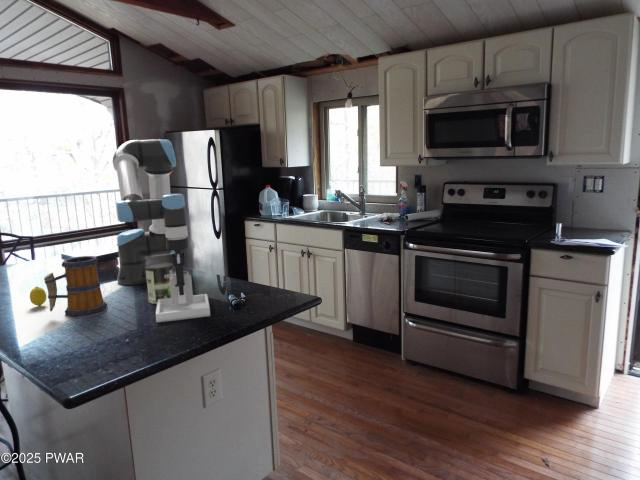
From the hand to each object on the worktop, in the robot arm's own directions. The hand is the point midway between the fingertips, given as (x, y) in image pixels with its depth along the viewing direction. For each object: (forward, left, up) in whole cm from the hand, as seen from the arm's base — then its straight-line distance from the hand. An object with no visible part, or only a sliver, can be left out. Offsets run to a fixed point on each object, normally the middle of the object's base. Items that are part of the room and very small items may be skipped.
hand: (182, 299), depth 174 cm
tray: (0, 0, -4) cm, 4 cm away
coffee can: (-18, -8, -5) cm, 20 cm away
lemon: (-28, -54, -5) cm, 61 cm away
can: (0, 0, -2) cm, 2 cm away
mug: (-13, -37, -5) cm, 39 cm away
